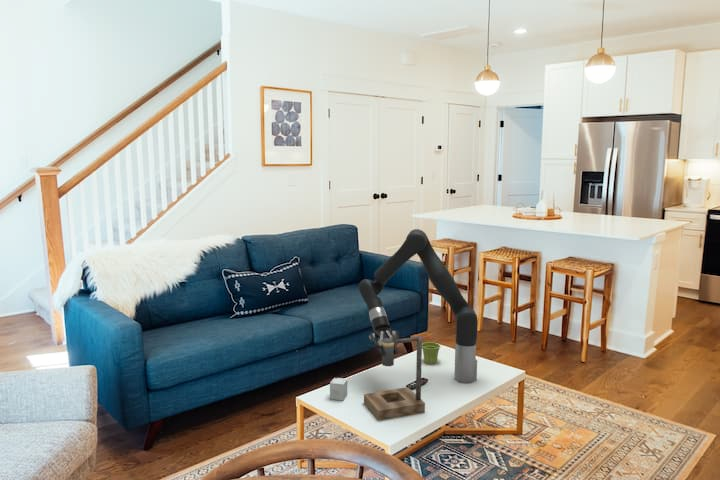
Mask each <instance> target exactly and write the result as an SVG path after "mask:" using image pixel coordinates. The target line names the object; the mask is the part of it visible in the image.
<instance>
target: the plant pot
mask: <svg viewBox="0 0 720 480" xmlns="http://www.w3.org/2000/svg"><path fill="white" fill-rule="evenodd" d="M440 348H441V344H440V343H437V342H430V341H429V342H422V356H423V361H424V363H425V364H427V365H434V364H437V362H438V355H439V351H440Z"/></svg>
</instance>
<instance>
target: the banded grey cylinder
mask: <svg viewBox="0 0 720 480" xmlns="http://www.w3.org/2000/svg"><path fill="white" fill-rule="evenodd" d="M382 346H383V349H384V352H385V355H384V356H382V355H381V360H382V361H381V365H382V366H384V367H392V366H394V364H395V362H394V361H395V358H394V357H395V354H394V343H393V342H392V338H384V339H382Z"/></svg>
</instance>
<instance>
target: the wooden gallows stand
mask: <svg viewBox="0 0 720 480" xmlns="http://www.w3.org/2000/svg"><path fill="white" fill-rule="evenodd" d="M391 336H392V342H393V343H394V344H397V345H399V344H404V343H405V344H407V343H412V342H414V343H415V342H416V367H415V368H416V369H415V370H416V373H415V376H416V377H415V392H414V391H413V390H412V389H410V387H409V386H407V387H406V386H404V387H400V388H399V387H398V388H393V389H386V390H381V391H374V392H368V393H364V394H363V404H364V405H365V406H366V407H367V409H368V410H369V411H370V412H371V414H372V415H373V416H374V418H376V420H378V421H379V422H380V421H382V420H383V421H384V420H390V419H394V418H401V417H406V416H407V417H408V416H411V415H412V416H413V415H417V414H423V413H424V414H425V411H426V402H425V401H424V400H423V399H422V362H423V359H422V357H423V349H422V344H423V337H422V336H414V337H406V338H399V339H397V340H396V334H392V335H391Z"/></svg>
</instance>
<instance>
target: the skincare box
mask: <svg viewBox="0 0 720 480" xmlns="http://www.w3.org/2000/svg"><path fill="white" fill-rule="evenodd" d="M347 397H348V378H343V377H334V378H333V379H332V380H331V381H330V382H329V399H330V400H335V401H344V400H345V399H346V398H347Z"/></svg>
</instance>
